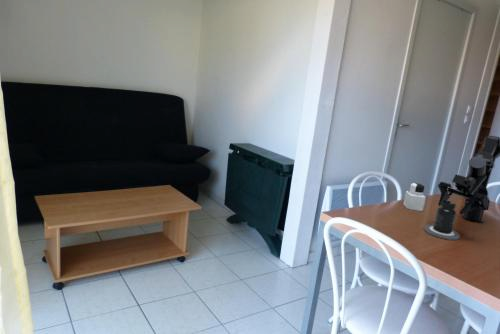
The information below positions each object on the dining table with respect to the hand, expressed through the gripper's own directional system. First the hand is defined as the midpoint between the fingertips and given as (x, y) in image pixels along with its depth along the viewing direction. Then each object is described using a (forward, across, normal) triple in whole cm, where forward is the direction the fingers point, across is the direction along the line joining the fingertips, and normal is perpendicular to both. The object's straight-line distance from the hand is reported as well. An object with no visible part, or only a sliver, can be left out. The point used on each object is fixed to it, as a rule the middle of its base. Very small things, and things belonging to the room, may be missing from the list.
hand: (449, 209), depth 145 cm
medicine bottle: (-3, -26, +18) cm, 32 cm away
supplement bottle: (+8, 0, +5) cm, 9 cm away
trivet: (+8, 0, +6) cm, 10 cm away
